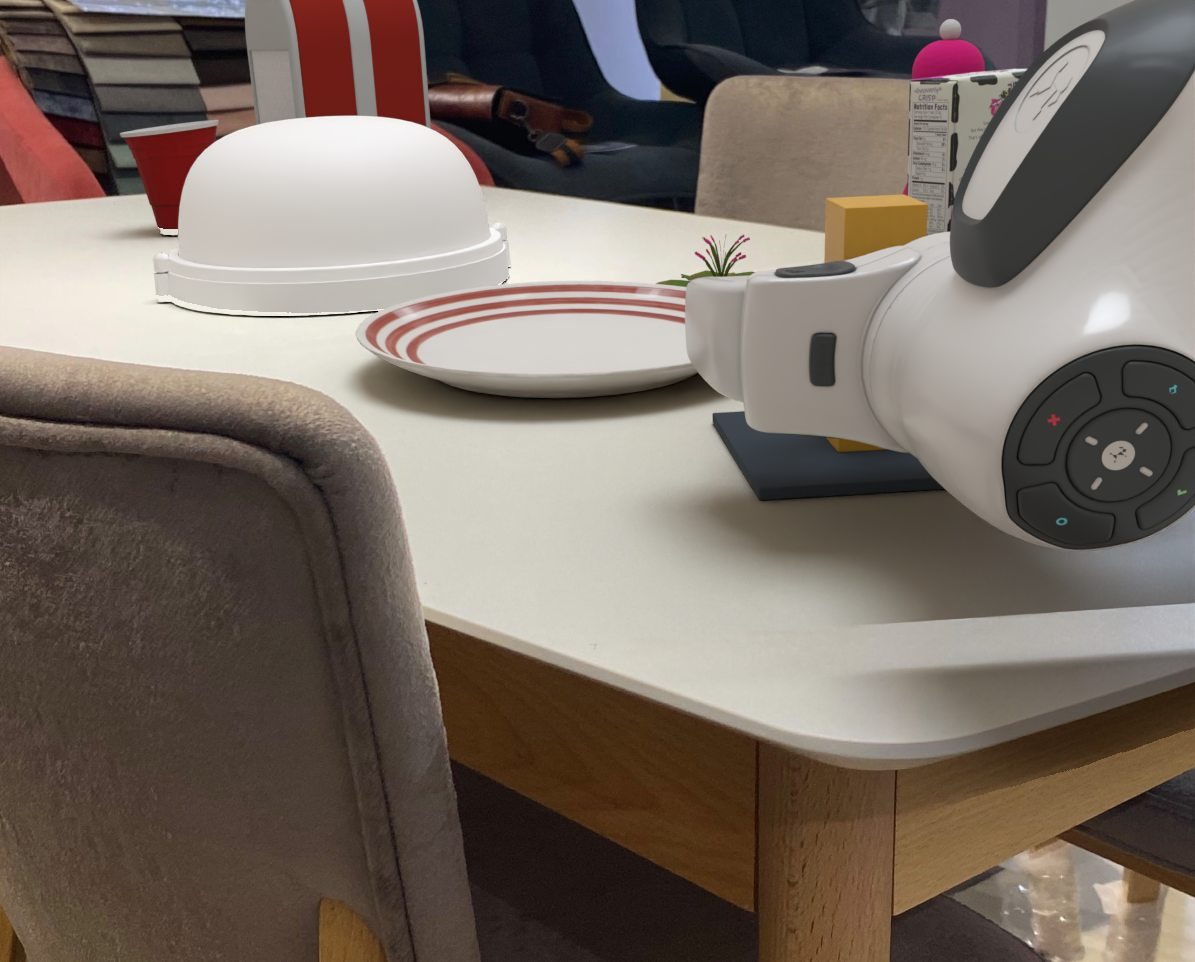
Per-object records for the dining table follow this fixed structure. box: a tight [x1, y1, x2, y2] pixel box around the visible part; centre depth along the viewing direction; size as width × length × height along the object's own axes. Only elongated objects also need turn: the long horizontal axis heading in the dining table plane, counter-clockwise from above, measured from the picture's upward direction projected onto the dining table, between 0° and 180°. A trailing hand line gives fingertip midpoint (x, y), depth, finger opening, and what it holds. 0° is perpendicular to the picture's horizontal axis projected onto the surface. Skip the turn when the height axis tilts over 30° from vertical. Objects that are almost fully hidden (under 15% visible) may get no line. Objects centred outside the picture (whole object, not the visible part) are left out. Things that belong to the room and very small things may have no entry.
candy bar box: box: [906, 68, 1028, 235], centre depth 110 cm, size 11×5×16 cm, turn 126°
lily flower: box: [655, 234, 756, 287], centre depth 116 cm, size 12×12×5 cm
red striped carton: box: [244, 0, 432, 129], centre depth 181 cm, size 16×18×27 cm
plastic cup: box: [119, 119, 220, 229], centre depth 161 cm, size 11×11×12 cm
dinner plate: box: [355, 280, 699, 399], centre depth 94 cm, size 27×27×3 cm
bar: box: [823, 193, 928, 452], centre depth 72 cm, size 4×4×12 cm
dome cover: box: [152, 116, 512, 313], centre depth 125 cm, size 32×30×14 cm
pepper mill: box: [902, 18, 986, 196], centre depth 124 cm, size 7×7×20 cm
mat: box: [712, 410, 946, 501], centre depth 74 cm, size 14×14×1 cm
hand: (870, 287), depth 71 cm, fingers open, 8 cm apart
